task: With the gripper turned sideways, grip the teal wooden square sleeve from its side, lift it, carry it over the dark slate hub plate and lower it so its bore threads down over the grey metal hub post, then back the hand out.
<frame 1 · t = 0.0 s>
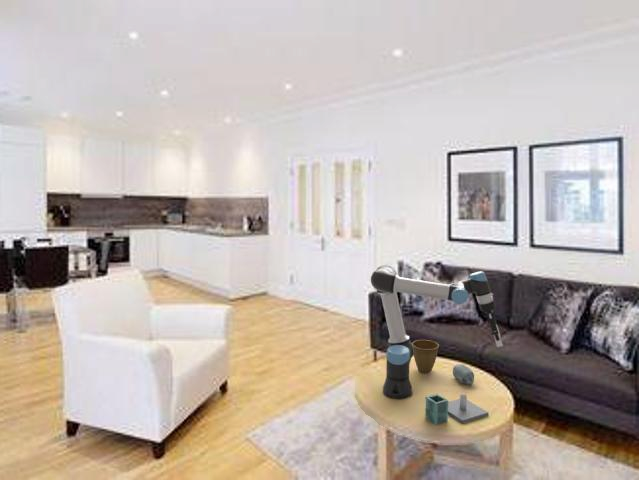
hand: (499, 341, 222), 28 cm above the table, fingers open, 13 cm apart
sleeve: (436, 419, 201), on the table
plant pot: (424, 371, 255), on the table
grey rounded piece: (462, 381, 241), on the table
hub plate: (462, 411, 208), on the table
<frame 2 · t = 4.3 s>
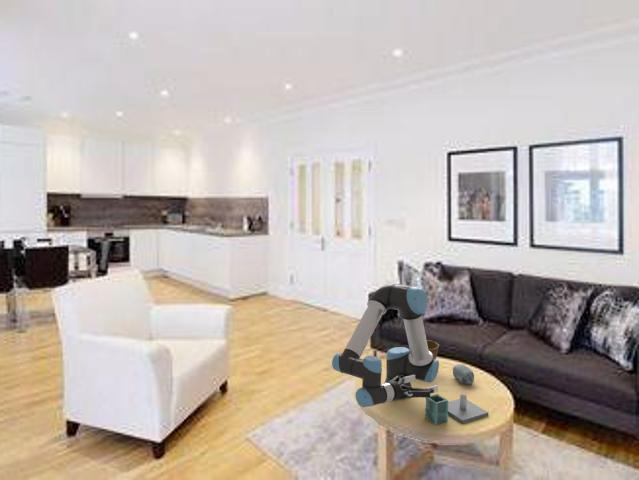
hand: (425, 382, 196), 19 cm above the table, fingers open, 13 cm apart
nothing on the table moved.
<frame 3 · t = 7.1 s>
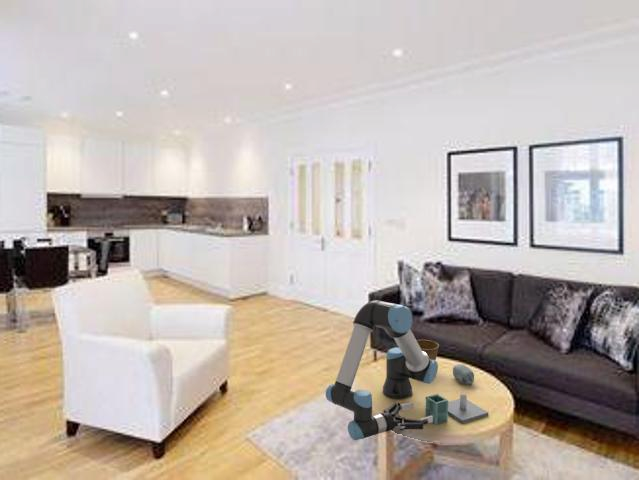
hand: (422, 411, 197), 6 cm above the table, fingers open, 13 cm apart
nothing on the table moved.
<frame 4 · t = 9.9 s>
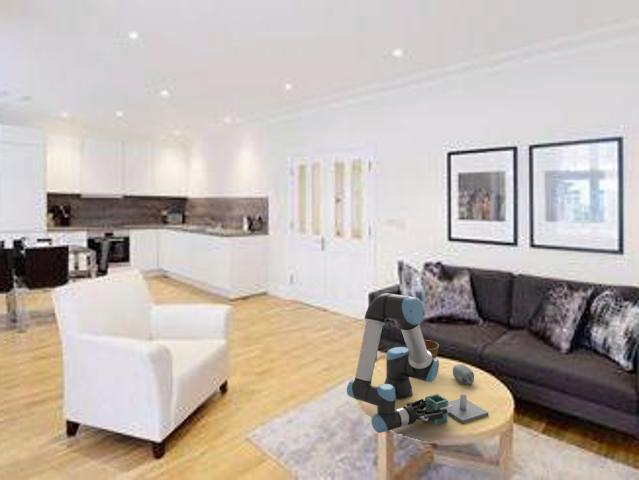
hand: (445, 404, 203), 6 cm above the table, fingers closed on sleeve, 7 cm apart
sleeve: (436, 419, 201), on the table, touching gripper
everything else where it was.
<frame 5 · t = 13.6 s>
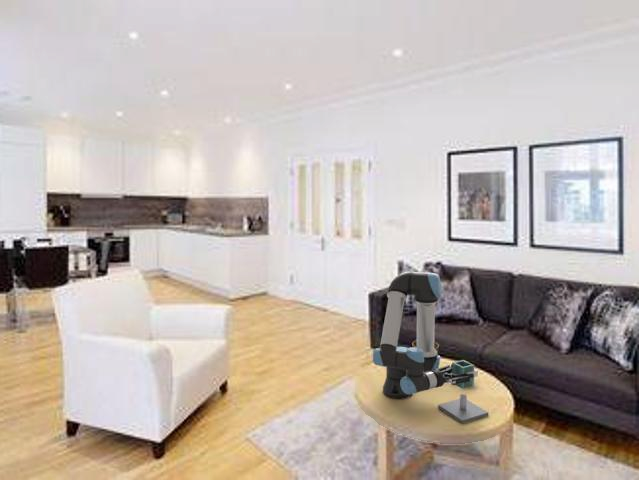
hand: (470, 370, 207), 20 cm above the table, fingers closed on sleeve, 7 cm apart
sleeve: (462, 384, 206), point 14 cm above the table, touching gripper
everything else where it was.
when the fingers open (9 cm above the table, at t = 17.5 s): sleeve drops 1 cm, resting on hub plate.
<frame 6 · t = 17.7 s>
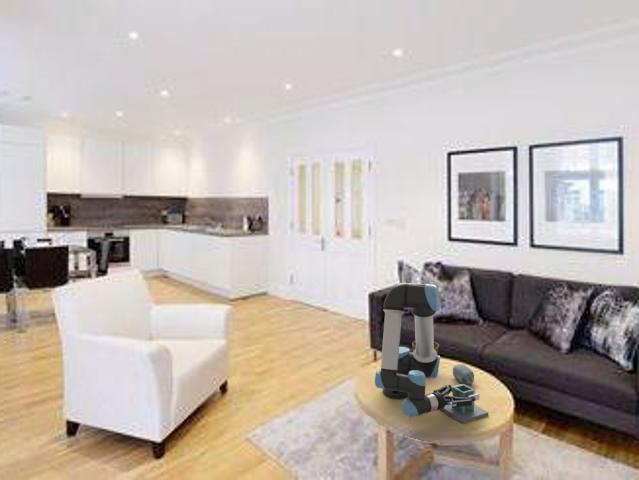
hand: (470, 391, 209), 9 cm above the table, fingers open, 10 cm apart
sleeve: (463, 408, 208), point 1 cm above the table, touching hub plate
everything else where it was.
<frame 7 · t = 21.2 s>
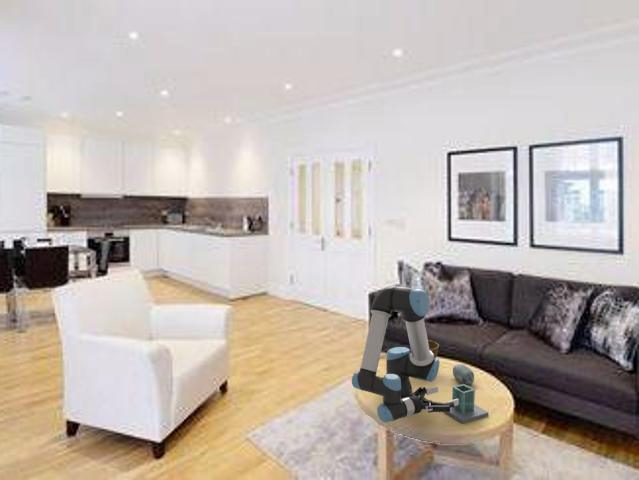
hand: (447, 395, 203), 10 cm above the table, fingers open, 13 cm apart
nothing on the table moved.
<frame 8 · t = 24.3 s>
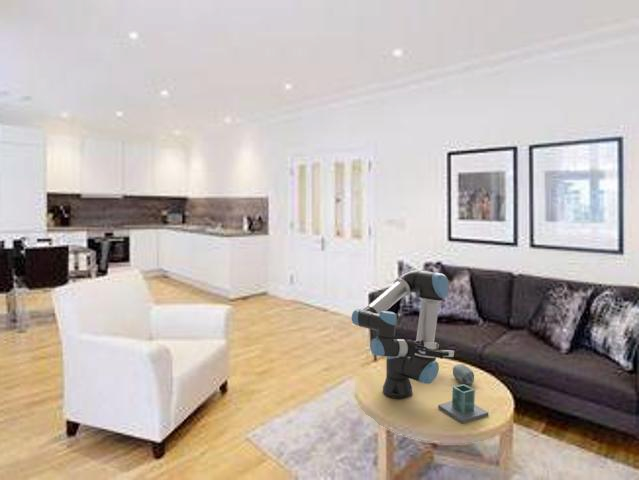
hand: (444, 349, 203), 31 cm above the table, fingers open, 13 cm apart
nothing on the table moved.
at the end: sleeve 0.1 cm off-centre on the hub plate, point 1.5 cm above the hub plate's base; sleeve tilted 0°; the gripper is holding nothing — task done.
